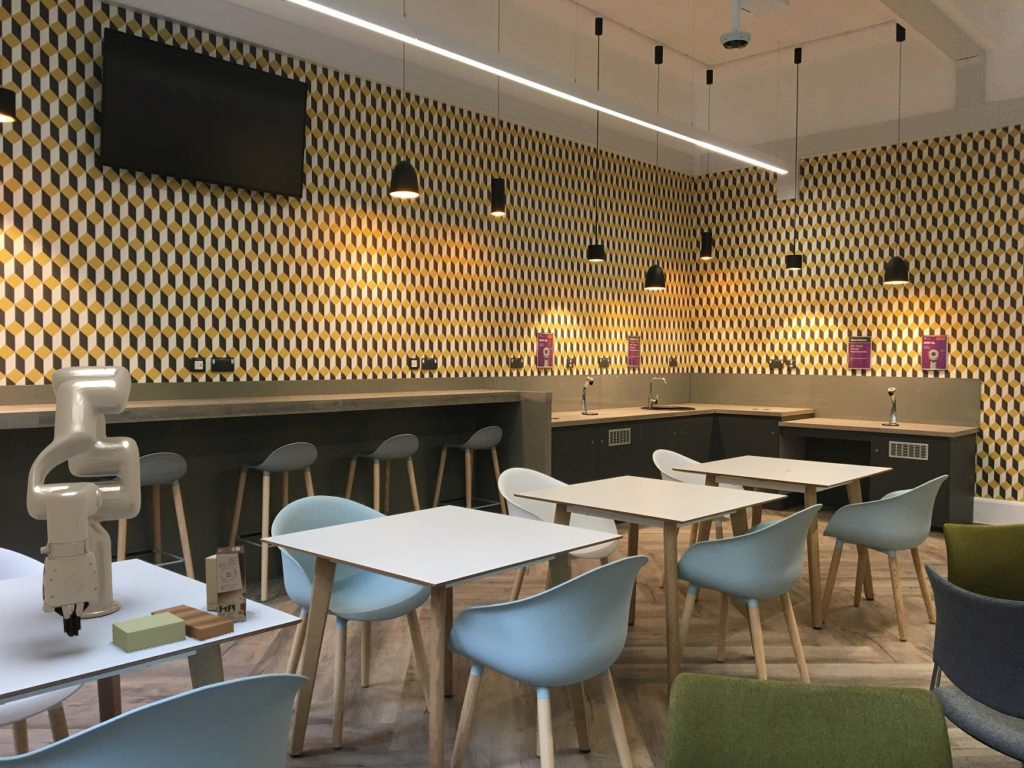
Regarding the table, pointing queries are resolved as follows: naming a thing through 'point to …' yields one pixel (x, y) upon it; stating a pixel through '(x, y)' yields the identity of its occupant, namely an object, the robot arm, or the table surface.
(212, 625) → the board
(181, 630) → the slab
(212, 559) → the box
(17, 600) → the table surface
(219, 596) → the coffee box
